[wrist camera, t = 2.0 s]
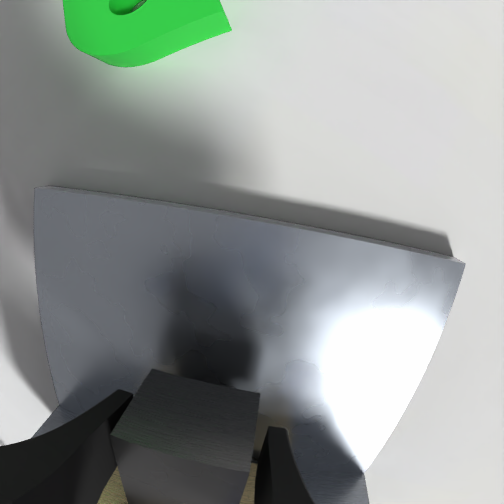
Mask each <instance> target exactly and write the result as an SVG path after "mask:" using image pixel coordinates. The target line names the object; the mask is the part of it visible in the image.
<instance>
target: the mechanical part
mask: <svg viewBox="0 0 504 504" xmlns="http://www.w3.org/2000/svg"><path fill="white" fill-rule="evenodd" d="M141 1H143V0H63V7H64V16H65V24H66V31H67V35H68V37H69V39H70V41H71V43H72V44H73V45H74V46H75V47H76V48H77V49H79V50H80V51H82V52H84V53H86V54H88V55H90V56H92V57H95V58H97V59H99V60H101V61H103V62H105V63H107V64H109V65H113V66H118V67H135V66H140V65H145V64H148V63H151V62H154V61H156V60H159V59H161V58H163V57H165V56H168V55H170V54H172V53H174V52H177V51H179V50H181V49H184V48H186V47H189V46H191V45H194V44H196V43H199V42H201V41H204V40H206V39H209V38H212V37H214V36H217V35H220V34H223V33H226V32H229V31H232V29H231V27H230V24H229V22H228V20H227V17H226V15H225V12H224V10H223V8H222V5H221V3H220V0H147V1H146V2H145V3H144V4H143V5H142V6H141V7H140V8H138V9H137V10H135V11H134V12H132V13H130V12H131V10H132V9H133V8H134V7H135V6H136V5H137V4H138V3H139V2H141Z"/></svg>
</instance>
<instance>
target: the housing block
mask: <svg viewBox="0 0 504 504" xmlns="http://www.w3.org/2000/svg"><path fill="white" fill-rule="evenodd" d="M34 252H35V269H36V282H37V292H38V301H39V309H40V317H41V323H42V330H43V336H44V341H45V347H46V352H47V357H48V362H49V366H50V371H51V375H52V379H53V383H54V387H55V391H56V395H57V399H58V402H59V406H58V407H57V408H56V410H55V411H54V412H53V413H52V414H51V415H50V417H49V418H48V419H47V420H46V421H45V422H44V424H43V425H42V426H41V427H40V428H39V430H38V431H37V432H36V433H35V434H34V435H33V437H32V438H34V437H37V436H39V435H42V434H44V433H47V432H49V431H51V430H53V429H55V428H58V427H59V426H61V425H63V424H65V423H67V422H69V421H70V420H72V419H74V418H76V417H77V416H79V415H81V414H82V413H84V412H85V411H87V410H89V409H90V408H92V407H93V406H95V405H96V404H98V403H99V402H100V401H102V400H103V399H105V398H106V397H108V396H109V395H110V394H112V393H113V392H115V391H116V390H118V389H121V390H124V391H127V392H130V393H133V397H134V396H135V394H136V393H137V391H138V389H139V388H140V386H141V385H142V383H143V382H144V380H145V378H146V377H147V375H148V374H149V372H150V371H151V369H152V368H153V369H156V370H160V371H163V372H167V373H171V374H174V375H178V376H182V377H186V378H190V379H194V380H198V381H203V382H207V383H212V384H216V385H221V386H226V387H230V388H235V389H241V390H246V391H251V392H257V393H260V401H259V409H258V416H257V424H256V432H255V439H254V446H253V453H252V461H251V463H255V464H258V458H259V454H260V451H261V448H262V445H263V442H264V439H265V436H266V432H267V429H268V426H273V427H280V428H285V429H286V430H287V432H288V437H289V441H290V445H291V448H292V451H293V455H294V458H295V460H296V463H297V466H298V468H299V471H300V473H301V476H302V478H303V480H304V483H305V485H306V487H307V489H308V491H309V493H310V495H311V497H312V499H313V501H314V502H315V504H369V499H368V493H367V487H366V482H365V476H364V473H365V471H366V470H367V469H368V467H369V466H370V464H371V463H372V461H373V460H374V458H375V457H376V455H377V454H378V452H379V451H380V449H381V448H382V446H383V445H384V443H385V442H386V440H387V438H388V437H389V435H390V434H391V432H392V430H393V429H394V427H395V425H396V424H397V422H398V420H399V419H400V417H401V415H402V413H403V412H404V410H405V408H406V406H407V404H408V402H409V401H410V399H411V397H412V395H413V393H414V391H415V389H416V387H417V385H418V383H419V381H420V379H421V377H422V375H423V373H424V371H425V369H426V367H427V365H428V363H429V361H430V358H431V356H432V354H433V352H434V349H435V347H436V345H437V342H438V340H439V338H440V335H441V333H442V330H443V328H444V325H445V323H446V320H447V318H448V315H449V312H450V310H451V307H452V304H453V301H454V299H455V296H456V293H457V290H458V287H459V284H460V281H461V277H462V274H463V271H464V268H465V263H464V262H462V261H460V260H458V259H457V258H455V257H452V256H448V255H444V254H440V253H435V252H431V251H427V250H422V249H418V248H413V247H409V246H404V245H400V244H395V243H391V242H386V241H381V240H376V239H372V238H367V237H362V236H357V235H352V234H347V233H343V232H338V231H333V230H327V229H322V228H317V227H312V226H307V225H302V224H296V223H291V222H285V221H280V220H275V219H269V218H263V217H258V216H252V215H246V214H241V213H235V212H229V211H223V210H217V209H211V208H205V207H199V206H192V205H186V204H180V203H173V202H167V201H160V200H153V199H146V198H139V197H132V196H125V195H118V194H111V193H103V192H96V191H88V190H80V189H72V188H63V187H55V186H44V187H37V188H35V193H34Z"/></svg>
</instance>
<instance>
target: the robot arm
mask: <svg viewBox="0 0 504 504" xmlns="http://www.w3.org/2000/svg"><path fill="white" fill-rule="evenodd" d="M132 399H133V393H130V392H127V391H124V390H121V389H118V390H116V391H115V392H113V393H112V394H110V395H109V396H108V397H106V398H105V399H103V400H102V401H100V402H99V403H98V404H96V405H95V406H93V407H92V408H90V409H89V410H87V411H85V412H84V413H82V414H81V415H79V416H77V417H76V418H74V419H72V420H70V421H69V422H67V423H65V424H63V425H61V426H59V427H58V428H55V429H53V430H51V431H49V432H47V433H44V434H42V435H39V436H37V437H34V438H31V439H28V440H25V441H22V442H18V443H14V444H10V445H5V446H0V504H97V503H98V501H99V499H100V496H101V494H102V492H103V490H104V488H105V486H106V484H107V483H108V481H109V479H110V478H111V476H112V474H113V473H114V471H115V469H116V468H117V463H116V459H115V454H114V450H113V446H112V441H111V437H110V434H111V432H112V431H113V429H114V428H115V426H116V424H117V423H118V421H119V420H120V418H121V416H122V415H123V413H124V412H125V410H126V408H127V407H128V405H129V404H130V402H131V401H132ZM254 504H315V502H314V501H313V499H312V497H311V495H310V493H309V491H308V489H307V487H306V485H305V483H304V480H303V478H302V476H301V473H300V471H299V468H298V466H297V463H296V460H295V458H294V455H293V451H292V448H291V445H290V441H289V437H288V432H287V430H286V429H285V428H280V427H273V426H268V429H267V432H266V436H265V439H264V442H263V445H262V448H261V451H260V454H259V458H258V464H257V471H256V477H255V494H254Z"/></svg>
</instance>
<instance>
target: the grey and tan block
mask: <svg viewBox="0 0 504 504" xmlns="http://www.w3.org/2000/svg"><path fill="white" fill-rule="evenodd" d="M259 401H260V393H257V392H251V391H246V390H241V389H235V388H230V387H226V386H221V385H216V384H212V383H207V382H203V381H198V380H194V379H190V378H186V377H182V376H178V375H174V374H171V373H167V372H163V371H160V370H156V369H153V368H152V369H151V371H150V372H149V374H148V375H147V377H146V378H145V380H144V382H143V383H142V385H141V386H140V388H139V389H138V391H137V393H136V394H135V396H134V397H133V399H132V401H131V402H130V404H129V405H128V407H127V408H126V410H125V412H124V413H123V415H122V416H121V418H120V420H119V421H118V423H117V424H116V426H115V428H114V429H113V431H112V432H111V434H110V437H111V441H112V446H113V450H114V454H115V459H116V463H117V468H116V469H115V471H114V473H113V474H112V476H111V478H110V479H109V481H108V483H107V484H106V486H105V488H104V490H103V492H102V494H101V496H100V499H99V501H98V503H97V504H254V494H255V477H256V471H257V464H255V463H251V461H252V453H253V446H254V439H255V432H256V424H257V416H258V409H259Z"/></svg>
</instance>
